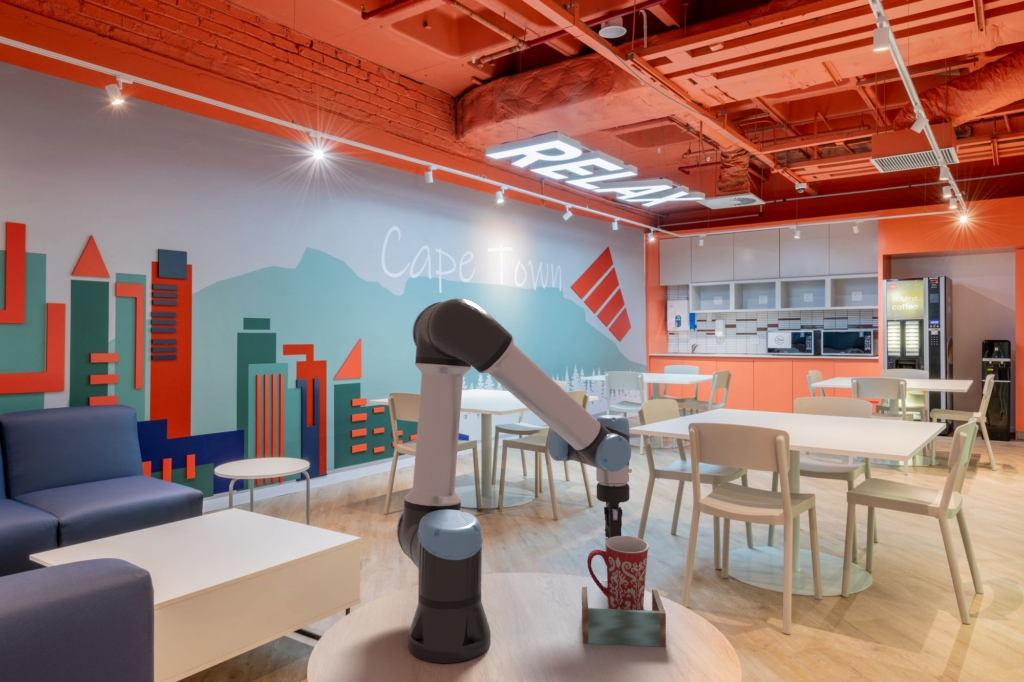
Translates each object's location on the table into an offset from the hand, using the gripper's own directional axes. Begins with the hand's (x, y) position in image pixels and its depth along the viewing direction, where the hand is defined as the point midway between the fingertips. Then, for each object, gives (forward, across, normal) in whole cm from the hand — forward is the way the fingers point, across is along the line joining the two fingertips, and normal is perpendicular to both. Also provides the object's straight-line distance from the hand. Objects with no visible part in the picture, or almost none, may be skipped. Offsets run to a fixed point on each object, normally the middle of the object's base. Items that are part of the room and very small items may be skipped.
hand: (613, 575), depth 148 cm
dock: (+2, -23, 0) cm, 23 cm away
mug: (+2, -13, 0) cm, 13 cm away
